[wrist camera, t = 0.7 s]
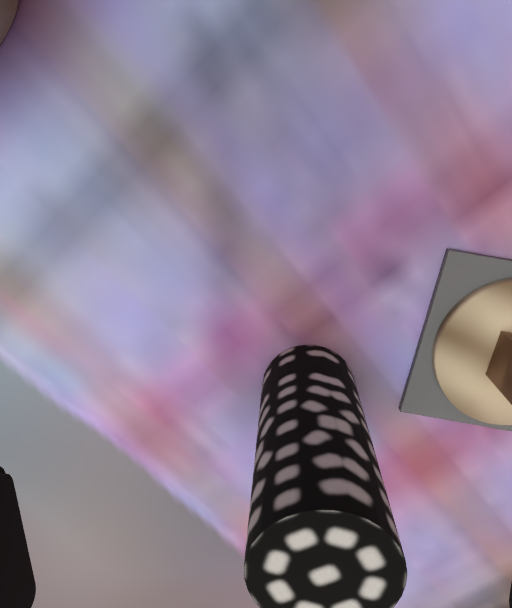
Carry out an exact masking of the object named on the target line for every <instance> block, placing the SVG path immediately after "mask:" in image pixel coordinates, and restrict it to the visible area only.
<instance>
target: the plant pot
mask: <svg viewBox="0 0 512 608" xmlns="http://www.w3.org/2000/svg"><path fill="white" fill-rule="evenodd" d="M18 2H19V0H0V44H1V43H2V41H3V40H4V38H5V37H6V35H7V33H8V31H9V30H10V27H11V25H12V23H13V20H14V18H15V14H16V11H17V8H18Z"/></svg>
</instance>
